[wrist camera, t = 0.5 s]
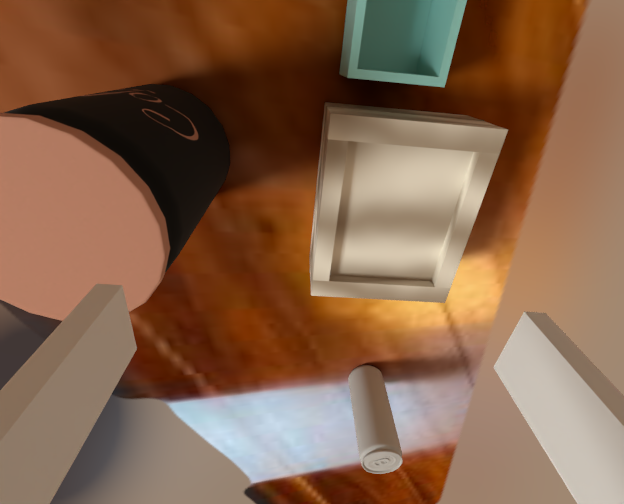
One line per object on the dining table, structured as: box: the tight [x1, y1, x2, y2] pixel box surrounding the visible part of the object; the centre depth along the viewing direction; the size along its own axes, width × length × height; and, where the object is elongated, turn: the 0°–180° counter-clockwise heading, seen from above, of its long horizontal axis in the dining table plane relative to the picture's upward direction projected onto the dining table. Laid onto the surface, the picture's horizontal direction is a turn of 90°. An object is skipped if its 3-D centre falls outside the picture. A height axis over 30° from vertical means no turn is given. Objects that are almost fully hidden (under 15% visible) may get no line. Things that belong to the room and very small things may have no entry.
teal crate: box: [339, 0, 467, 87], centre depth 24 cm, size 10×7×6 cm
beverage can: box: [349, 365, 402, 474], centre depth 42 cm, size 5×5×12 cm
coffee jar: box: [0, 84, 230, 321], centre depth 23 cm, size 11×11×18 cm
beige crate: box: [310, 102, 508, 303], centre depth 31 cm, size 16×13×7 cm
